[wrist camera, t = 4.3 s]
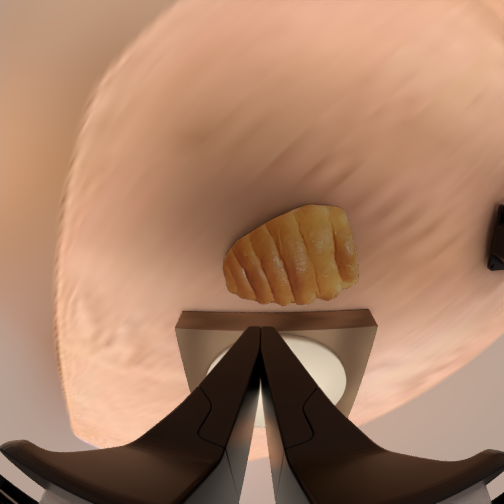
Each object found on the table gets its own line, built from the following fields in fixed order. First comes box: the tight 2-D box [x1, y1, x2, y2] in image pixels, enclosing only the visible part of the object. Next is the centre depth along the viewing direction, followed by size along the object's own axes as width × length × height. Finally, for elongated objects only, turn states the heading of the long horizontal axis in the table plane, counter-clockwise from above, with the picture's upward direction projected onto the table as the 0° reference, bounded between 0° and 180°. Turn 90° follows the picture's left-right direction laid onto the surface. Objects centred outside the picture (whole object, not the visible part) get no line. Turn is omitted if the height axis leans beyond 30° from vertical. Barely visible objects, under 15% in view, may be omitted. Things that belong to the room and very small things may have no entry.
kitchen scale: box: [175, 309, 378, 428], centre depth 23 cm, size 16×13×3 cm
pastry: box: [223, 204, 359, 306], centre depth 18 cm, size 9×7×4 cm
